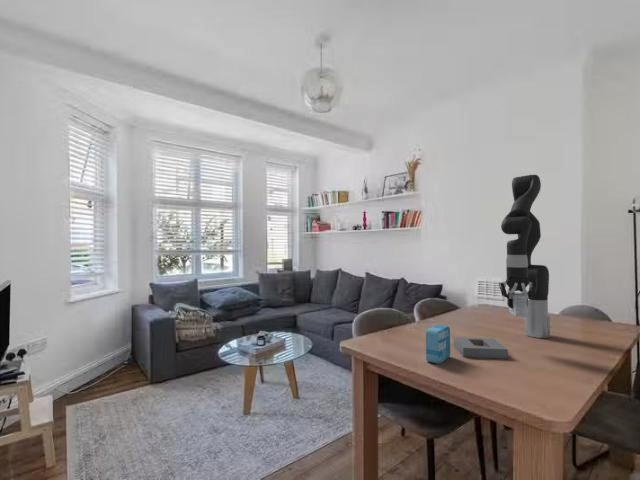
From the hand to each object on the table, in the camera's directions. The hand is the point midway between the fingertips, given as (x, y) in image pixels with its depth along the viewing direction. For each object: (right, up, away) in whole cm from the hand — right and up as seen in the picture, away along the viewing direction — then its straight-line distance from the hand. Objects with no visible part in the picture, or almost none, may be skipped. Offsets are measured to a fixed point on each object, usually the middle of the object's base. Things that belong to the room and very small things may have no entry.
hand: (517, 307), depth 136 cm
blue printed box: (-36, -18, -10) cm, 41 cm away
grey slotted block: (-16, -18, -1) cm, 24 cm away
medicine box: (0, -3, 0) cm, 3 cm away
